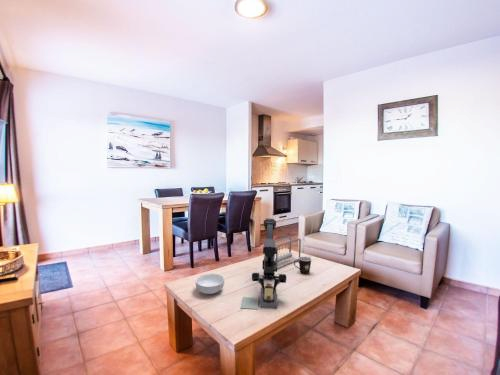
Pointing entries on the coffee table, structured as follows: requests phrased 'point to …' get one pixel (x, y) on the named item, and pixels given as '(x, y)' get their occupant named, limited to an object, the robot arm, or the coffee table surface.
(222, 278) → the cereal bowl
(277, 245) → the newton's cradle
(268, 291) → the lever cap
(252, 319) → the coffee table surface
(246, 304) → the bench mat
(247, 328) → the coffee table surface
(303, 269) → the coffee mug
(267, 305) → the plane body
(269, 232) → the robot arm
